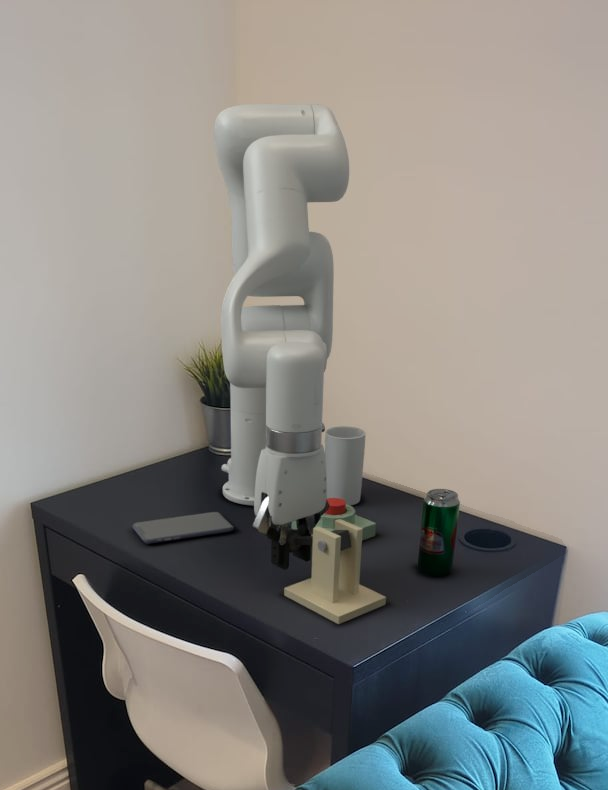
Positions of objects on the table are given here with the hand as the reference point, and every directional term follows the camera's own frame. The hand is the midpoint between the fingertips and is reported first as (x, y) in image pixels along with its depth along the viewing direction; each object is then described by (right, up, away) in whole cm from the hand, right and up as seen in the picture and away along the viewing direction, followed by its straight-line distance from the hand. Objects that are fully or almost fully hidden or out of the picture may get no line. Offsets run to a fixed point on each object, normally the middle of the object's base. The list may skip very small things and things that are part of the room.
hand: (290, 561), depth 140 cm
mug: (+10, +14, +30) cm, 34 cm away
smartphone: (-17, +6, +16) cm, 24 cm away
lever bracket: (+6, -6, -5) cm, 10 cm away
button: (+7, +9, +14) cm, 18 cm away
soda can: (+21, -1, +3) cm, 22 cm away
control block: (+7, +6, +15) cm, 18 cm away
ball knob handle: (+3, +1, -5) cm, 6 cm away
